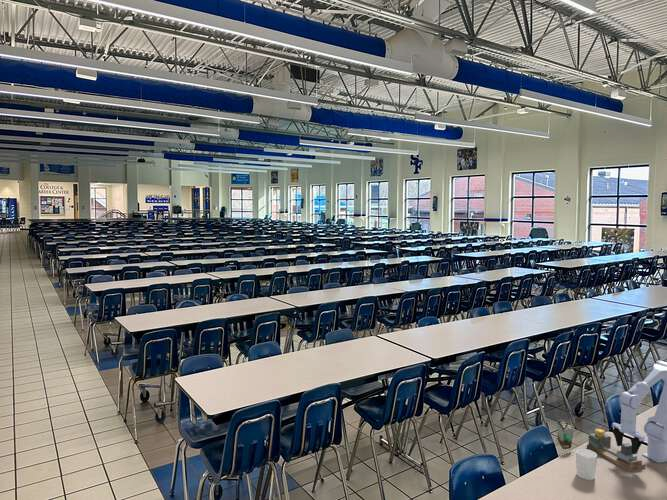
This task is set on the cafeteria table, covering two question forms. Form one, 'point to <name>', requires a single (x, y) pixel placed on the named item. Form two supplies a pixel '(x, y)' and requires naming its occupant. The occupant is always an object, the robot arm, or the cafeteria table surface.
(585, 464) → the white cup
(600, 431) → the button
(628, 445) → the carriage
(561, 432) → the food container
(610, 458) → the rail board
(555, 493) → the cafeteria table surface
